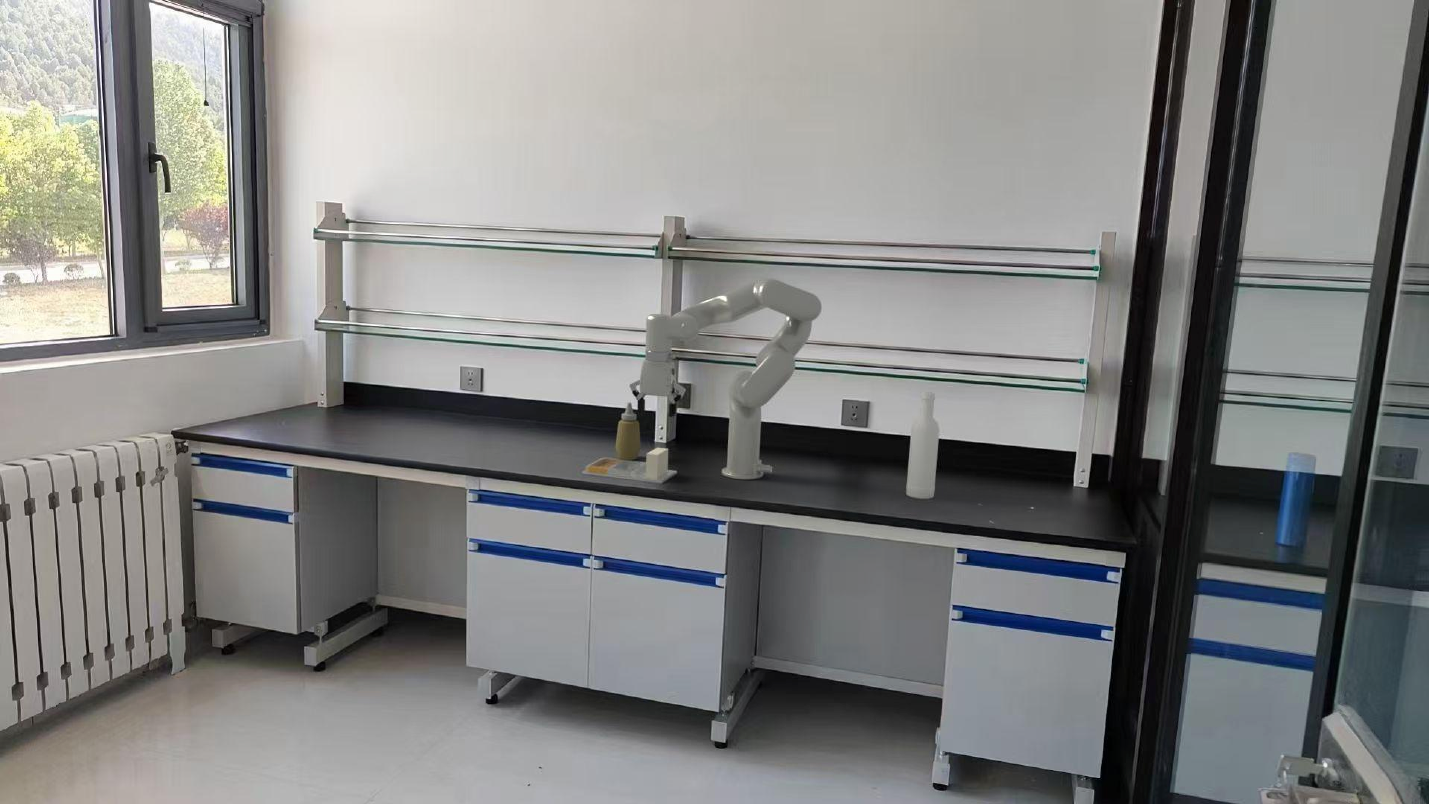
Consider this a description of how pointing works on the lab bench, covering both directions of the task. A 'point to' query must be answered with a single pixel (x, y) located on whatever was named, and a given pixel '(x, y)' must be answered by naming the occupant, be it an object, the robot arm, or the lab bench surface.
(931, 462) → the bottle
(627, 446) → the squeeze bottle
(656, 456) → the tall ivory prism
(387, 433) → the lab bench surface
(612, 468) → the grey framed tray board
